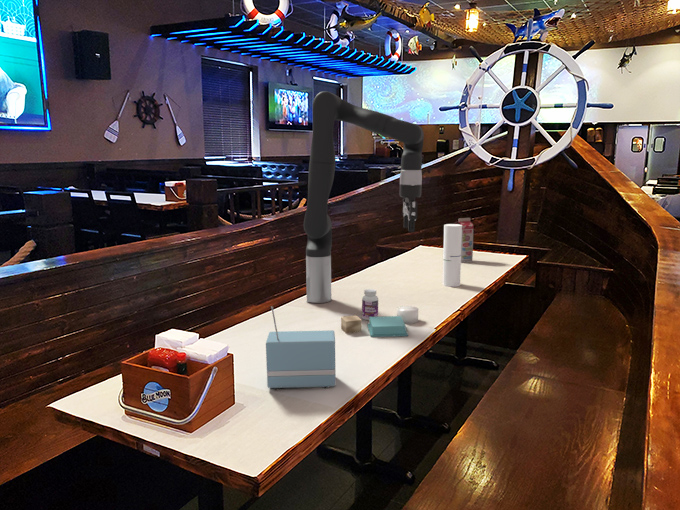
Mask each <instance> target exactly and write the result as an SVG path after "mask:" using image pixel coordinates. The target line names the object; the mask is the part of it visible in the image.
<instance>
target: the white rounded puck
mask: <svg viewBox="0 0 680 510" xmlns="http://www.w3.org/2000/svg"><path fill="white" fill-rule="evenodd" d="M396 316H401V318H402V320H403V322H404V324H405V325H406V324H407V325H410V324H415V323H418V322H419V308H418V307H416V306H412V305H402V306H399V307H397V308H396Z"/></svg>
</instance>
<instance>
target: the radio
mask: <svg viewBox="0 0 680 510" xmlns="http://www.w3.org/2000/svg"><path fill="white" fill-rule="evenodd" d="M270 308H271V312H272V318H273V323H274V329H275V331H269V332H268V335H267V338H266V342H265V355H266V357H265V358H266V361H265V362H266V376H267V377H266V384H267V388H268V389H275V390H280V389H281V388H282V389H283V388H287V389H288V388H321V387H322V388H324V389H329V387H335V386H336V377H337V375H336V374H337V373H336V335H335V330H330V329H329V330H293V331H291V330H290V331H289V330H287V331H285V330H283V331H278V329H277V323H276V318H275V317H276V316H275V311H274V306H270Z"/></svg>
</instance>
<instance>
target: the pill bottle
mask: <svg viewBox="0 0 680 510" xmlns="http://www.w3.org/2000/svg"><path fill="white" fill-rule="evenodd" d="M363 294H364V295H363V296H362V299H361V301H362V302H361V303H362V304H361V318H362V319H363V320H364V321H369V317H379V297H378V296H377V290H376V289H375V288H366V289H364V290H363Z"/></svg>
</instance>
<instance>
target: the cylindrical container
mask: <svg viewBox="0 0 680 510" xmlns="http://www.w3.org/2000/svg"><path fill="white" fill-rule="evenodd" d="M461 240H462V225H459V224H456V223H446V224H443V250H442V251H443V253H442V254H443V256H442V257H443V258H442V260H443V261H442V286H444V287H450V288H456V287H460V286H461V273H462V272H461V269H462V268H461V266H462V263H461Z"/></svg>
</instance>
